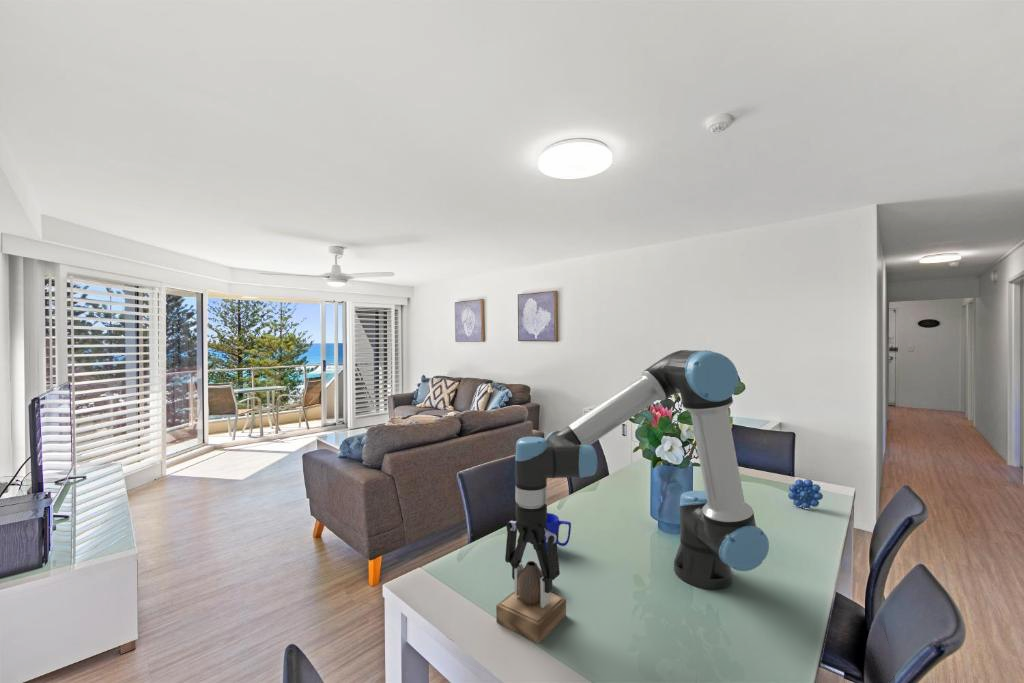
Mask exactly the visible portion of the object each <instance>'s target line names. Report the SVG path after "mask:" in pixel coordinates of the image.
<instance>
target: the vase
mask: <svg viewBox="0 0 1024 683" xmlns="http://www.w3.org/2000/svg"><path fill="white" fill-rule="evenodd" d="M537 565H538V564H537V562H536V561H533V560H528V561H527V562H526V564H525V566H523V570H522V571H521V573H520V574H519V577H518V582H517V588H518V593H519V596H520V598H521V599H522V600H523V601H524V602H525V603H526V604H529V605H535V604H538V603H539V602H540V601H541V595H540V579H541V578H542V577H543V574H542V571H541V570H540V568H539V567H538V566H537Z"/></svg>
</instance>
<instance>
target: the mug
mask: <svg viewBox="0 0 1024 683" xmlns="http://www.w3.org/2000/svg"><path fill="white" fill-rule="evenodd" d="M561 525H568V532H567V538H566V540H565V541H564V542H560V541H559V540H560V539H558V540H557V546H560V547H565V546H567V544H569V542H570V537H571V530H572V522H571V521H568V520H567V521H566V520H560V518H559V517H558V515H556V514H554V513H550V512H547V520H546V526H547V529H548V531H549V532H551V533H553V534H554V533H557V534H558V537H559V533H560V532H559V531H560V526H561ZM544 538H545V542H546V536H545V537H544ZM538 544H539V543H538ZM545 546H546V550H547V542H546V545H545ZM547 554H548V552H547Z"/></svg>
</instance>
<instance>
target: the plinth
mask: <svg viewBox="0 0 1024 683" xmlns="http://www.w3.org/2000/svg"><path fill="white" fill-rule="evenodd" d="M495 611H496V615H495V616H496V617H495V619H496V623H497V624H499V625H502V626H503V627H506V628H507V629H509V630H512V631H513V632H515V633H518V634H519V635H521V636H523V637H525V638H527V639H529V640H531V641H533V642H534V643H537V644H540V643H541V642H542V641H543V640H544V639H545V638H546V637H547V636H548V635H549V634H550V632H552V630H553V629H555V628H556V627H557V626H558V624H559V623H560V622H562V621H563V619H564V618H566V616H567V599H566V598H565V597H562V596H560V595H557V594H554V593H553V592H549V603H548V604H547V605H546V606H545V607H544V608H542V607H541V601H540V602H539V603H538V604H535V605H529V604H526V603H525V602H524V601H523V600H522V599H521V598H520V596H519V595H518V596H515V590H514V591H513V592H511V593H510V594H509V595H508V596H506V597H505V598H504V599H502V600H501V601H500V602H499V603H497V604H496V610H495Z"/></svg>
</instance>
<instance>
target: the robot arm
mask: <svg viewBox="0 0 1024 683" xmlns="http://www.w3.org/2000/svg"><path fill="white" fill-rule="evenodd" d="M738 386H739V372H738V370H737V367H736V366H735V363H733V361H732V360H731V359H730V358H728V357H727V356H725V355H724V354H722V353H719V352H715V351H712V350H708V349H707V350H705V349H704V350H690V349H689V350H688V349H682V350H676V351H674V352H671V353H669V354H667V355H666V356H664V357H662V358H661V359H660V360H659V359H658V361H656V362H655V363H653V364H652V365H650V366H649V367H647V368H646V369H644V370H643V371H642V372H641V375H640V377H639V378H638V379H636V380H635V381H633V382H631V383H630V384H629V385H627V386H626V387H624V388H622V389H621V390H619V391H617V393H615V394H613V395H612V396H611V397H609V398H608V399H606V400H605V401H603V402H602V403H600V404H599V405H597V406H596V407H594V408H592V410H590V411H587V413H585V414H584V415H582V416H581V417H579V418H578V419H577V420H575V421H573V422H571V423H570V424H569V425H567V426H565V427H563V429H561V430H553V431H551V432H549V433H548V434H547V435H546V437H544V438H543V437H541V436H523V437H520V438H519V439H518V440H517V441H516V443H515V457H514V463H515V466H514V467H515V471H514V472H515V474H514V475H515V497H514V499H515V503H516V504H515V519H511V520H510V521H508V522H507V523H506V525H505V527H506V531H507V533H506V534H507V535H506V546H505V555H504V556H505V558H504V560H505V562H506V563H509V564H510V565H511V577H512V580H513V581H514V584H513V585H514V586H513V587H514V591H515V596H518V595H519V593H518V588H517V582H518V577H519V574H520V573H521V571H522V570H523V569H524V564H523V563H522V562H523V560H522V559H523V556H524V553H525V550H526V548H527V544H528V543H529V544H531V545H532V547H533V550H534V551H535V553H536V556H537V559H538V565H540V567H541V571H542V574H543V577H542V578H541V579H540V595H541V607H542V608H544V607H545V606H546V605H547V604H548V603H549V592H550V593H552V590H553V585H552V582H553V581H554V580H556V578H558V577H559V576H560V574H561V572H560V562H559V552H558V544H557V540H559V536H558V534H557V533H554V534H553V533H551V532H549V531H548V529H547V526H546V520H547V513H548V505H547V504H546V503H548V502H547V501H548V497H547V495H548V493H547V492H548V491H547V490H548V489H547V488H548V486H547V485H548V483H547V481H548V479H558V478H559V479H564V478H565V479H566V478H567V479H568V478H580V479H582V478H586V477H592V476H595V474H596V473H597V469H598V457H597V451H596V449H595V448H594V446H593V445H592V444H594V443H595V442H597V441H598V440H600V439H601V438H603V437H604V436H606V435H608V434H609V433H611V432H612V431H613V430H614V429H616V428H618V427H619V426H620V425H622V424H624V423H626V422H627V421H628V420H630V419H631V418H632V417H634V416H635V415H637V414H639V413H640V412H642V411H643V410H645V409H646V408H648V407H649V406H651V405H652V404H654V403H655V402H657V401H659V400H660V401H664V400H666V399H668V398H669V397H672V396H674V395H677V394H680V399H681V404H682V407H683V409H685V410H686V411H688V412H689V413H690V417H691V422H692V428H693V433H694V434H693V435H694V439H695V444H696V450H697V455H698V461H699V465H700V471H701V476H702V480H703V486H704V487H703V488H704V490H689V491H685V492H683V493H682V494H680V499H679V500H680V501H679V525H680V526H679V528H680V529H679V530H680V531H679V532H680V534H679V536H680V537H679V538H680V539H679V540H680V541H679V542H680V544H679V546H678V548H677V551H676V554H675V557H674V561H673V571H674V574H675V575H676V576H677V577H678V578H679V579H681V580H682V581H684V582H685V583H687V584H689V585H692V586H694V587H698V588H702V589H708V590H721V589H725V588H727V587H730V585H732V582H733V572H732V570H734V571H735V570H736V571H738V572H749V571H752V570H755V569H756V568H758V567H759V566H760V565H762V563H763V561H764V560H765V559H766V558H767V556H768V555H769V550H770V541H769V539H768V536H767V534H766V533H765V532H764V530H762V529H761V528H760V527H759V526H757V524H756V518H755V512H754V510H753V507H752V506H751V505H749V504H748V502H746V501H745V496H744V492H743V486H742V481H741V475H740V469H739V464H738V459H737V452H736V449H735V448H736V447H735V441H734V436H733V433H732V432H733V431H732V426H731V421H730V416H729V411H728V410H729V408H730V407H731V406H732V404H734V400H733V395H734V394H735V392H736V389H737V388H738ZM518 533H519V535H518ZM517 535H518V538H517ZM545 536H546V542H547V550H546V546H545V545H546V542H545V538H544V537H545ZM538 543H539V544H538ZM547 552H548V553H547Z"/></svg>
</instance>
